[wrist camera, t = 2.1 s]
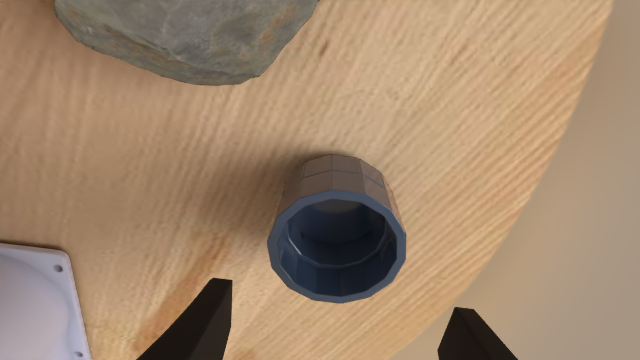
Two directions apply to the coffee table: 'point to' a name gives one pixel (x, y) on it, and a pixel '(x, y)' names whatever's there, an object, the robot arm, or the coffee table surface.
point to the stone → (188, 34)
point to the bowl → (336, 231)
